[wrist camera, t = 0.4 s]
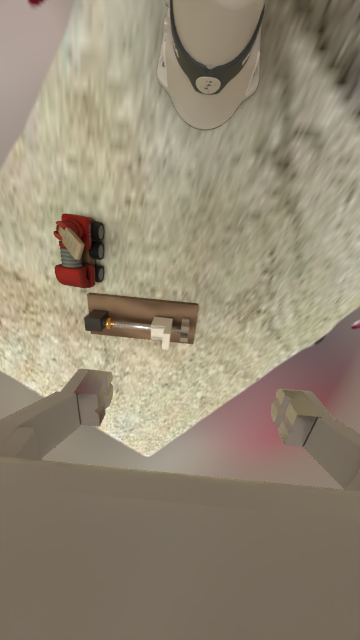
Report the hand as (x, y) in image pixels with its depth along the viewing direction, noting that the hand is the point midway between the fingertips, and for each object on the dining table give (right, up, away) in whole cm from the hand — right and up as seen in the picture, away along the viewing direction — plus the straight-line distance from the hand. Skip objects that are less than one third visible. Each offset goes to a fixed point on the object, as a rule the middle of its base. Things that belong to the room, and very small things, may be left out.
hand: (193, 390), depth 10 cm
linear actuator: (-11, +4, +48) cm, 50 cm away
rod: (-11, +3, +47) cm, 48 cm away
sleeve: (-5, +2, +46) cm, 46 cm away
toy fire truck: (-23, +21, +42) cm, 52 cm away
